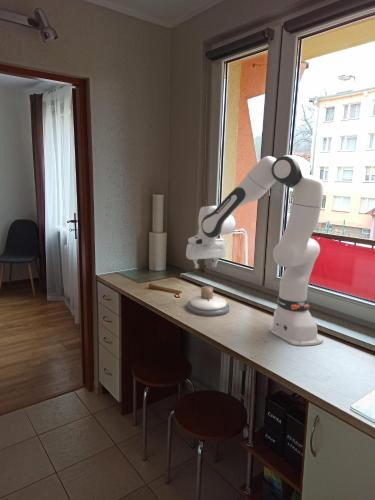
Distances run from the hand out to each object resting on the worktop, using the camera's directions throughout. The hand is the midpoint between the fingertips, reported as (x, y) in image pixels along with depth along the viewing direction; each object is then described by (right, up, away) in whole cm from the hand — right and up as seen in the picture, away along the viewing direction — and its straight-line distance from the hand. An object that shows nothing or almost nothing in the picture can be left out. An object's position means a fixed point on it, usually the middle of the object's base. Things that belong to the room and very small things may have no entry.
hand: (205, 267), depth 178 cm
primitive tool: (-21, -15, +25) cm, 36 cm away
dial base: (+1, -20, -1) cm, 20 cm away
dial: (+1, -18, -2) cm, 18 cm away
